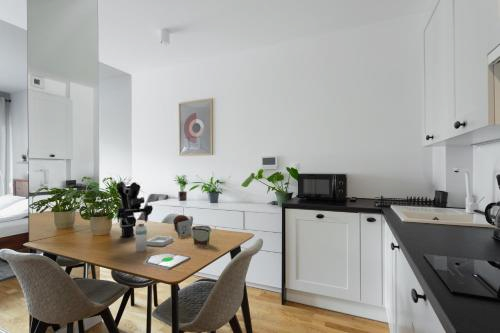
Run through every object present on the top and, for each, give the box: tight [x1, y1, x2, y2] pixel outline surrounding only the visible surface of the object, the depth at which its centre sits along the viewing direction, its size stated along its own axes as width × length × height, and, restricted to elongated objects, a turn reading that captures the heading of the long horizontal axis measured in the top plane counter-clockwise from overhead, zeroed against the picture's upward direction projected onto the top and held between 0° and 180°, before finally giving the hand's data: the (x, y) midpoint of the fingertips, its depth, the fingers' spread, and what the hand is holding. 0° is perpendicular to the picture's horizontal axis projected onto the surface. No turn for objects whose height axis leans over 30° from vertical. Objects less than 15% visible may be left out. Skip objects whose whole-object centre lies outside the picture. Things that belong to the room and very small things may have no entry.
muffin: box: [172, 214, 190, 231], centre depth 182 cm, size 12×11×10 cm
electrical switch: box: [176, 220, 192, 238], centre depth 167 cm, size 9×5×9 cm, turn 141°
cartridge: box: [135, 223, 148, 252], centre depth 136 cm, size 6×6×14 cm
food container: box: [191, 225, 212, 247], centre depth 147 cm, size 12×6×10 cm, turn 65°
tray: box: [147, 235, 174, 247], centre depth 149 cm, size 11×11×2 cm
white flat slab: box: [143, 252, 191, 271], centre depth 121 cm, size 17×22×2 cm
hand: (137, 223), depth 142 cm, fingers open, 9 cm apart
